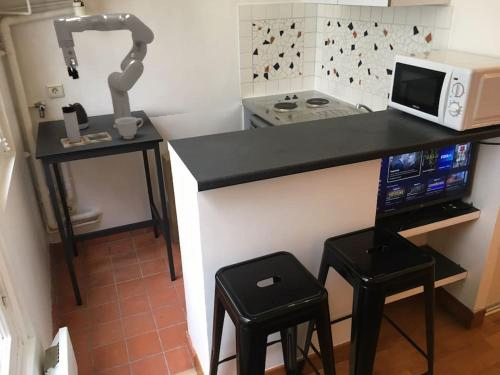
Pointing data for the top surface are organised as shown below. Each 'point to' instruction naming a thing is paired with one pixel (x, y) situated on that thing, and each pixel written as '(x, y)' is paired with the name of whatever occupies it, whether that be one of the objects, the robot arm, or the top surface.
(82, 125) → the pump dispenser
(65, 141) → the beige flat rectangular frame
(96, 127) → the top surface
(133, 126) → the teacup
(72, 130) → the travel mug
